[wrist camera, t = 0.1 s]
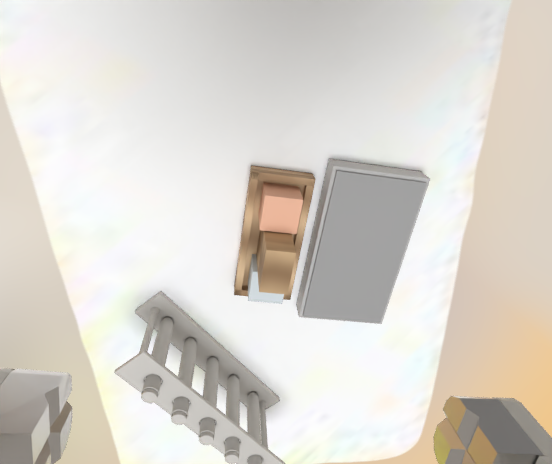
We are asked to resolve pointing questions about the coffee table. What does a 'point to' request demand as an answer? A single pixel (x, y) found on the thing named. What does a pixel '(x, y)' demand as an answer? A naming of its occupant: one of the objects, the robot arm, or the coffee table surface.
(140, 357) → the test tube rack
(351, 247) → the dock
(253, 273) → the pale blue cube
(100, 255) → the coffee table surface
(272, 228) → the block
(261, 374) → the coffee table surface
